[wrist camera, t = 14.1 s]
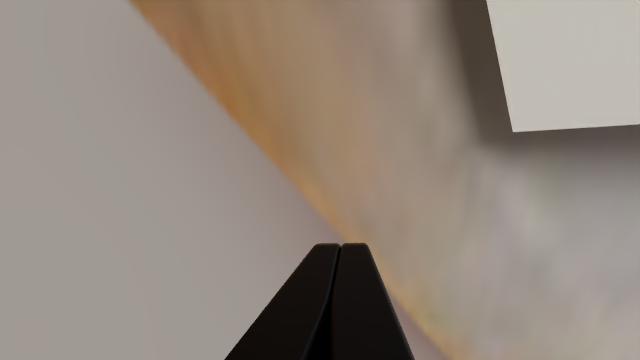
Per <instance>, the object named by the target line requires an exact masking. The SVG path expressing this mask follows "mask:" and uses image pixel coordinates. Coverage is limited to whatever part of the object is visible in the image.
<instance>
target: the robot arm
mask: <svg viewBox="0 0 640 360" xmlns="http://www.w3.org/2000/svg"><path fill="white" fill-rule="evenodd" d="M225 360H415V359H414V356H413V354H412V352H411V349H410V347H409V344H408V342H407V339H406V337H405V335H404V332H403V330H402V327H401V325H400V322H399V320H398V317H397V315H396V313H395V310H394V308H393V305H392V303H391V300H390V298H389V296H388V293H387V291H386V288H385V286H384V283H383V281H382V278H381V276H380V274H379V271H378V269H377V266H376V264H375V261H374V259H373V257H372V254H371V252H370V249H369V247H368V245H367V244H365V243H344V244H343V245H342V247H341V245H339V244H337V243H327V244H326V243H324V244H323V243H322V244H316V245H315V246H314V247H313V248H312V249H311V250H310V252H309V253H308V254H307V255H306V257H305V258H304V259H303V261H302V262H301V263H300V264H299V266H298V267H297V268H296V270H295V271H294V272H293V273H292V274H291V276H290V277H289V278H288V280H287V281H286V282H285V283H284V285H283V286H282V287H281V288H280V290H279V291H278V292H277V293H276V295H275V296H274V297H273V299H272V300H271V301H270V302H269V304H268V305H267V306H266V307H265V309H264V310H263V311H262V313H261V314H260V315H259V317H258V318H257V319H256V320H255V322H254V323H253V324H252V325H251V326H250V328H249V329H248V331H247V332H246V333H245V334H244V335H243V337H242V338H241V339H240V340H239V342H238V343H237V344H236V345H235V347H234V348H233V349H232V351H231V352H230V353H229V354H228V356H227V357H226V358H225Z"/></svg>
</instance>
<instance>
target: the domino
mask: <svg viewBox="0 0 640 360" xmlns="http://www.w3.org/2000/svg"><path fill="white" fill-rule="evenodd" d="M486 1H487V6H488V11H489V16H490V21H491V26H492V31H493V36H494V41H495V46H496V51H497V56H498V61H499V66H500V71H501V76H502V80H503V85H504V90H505V95H506V100H507V105H508V110H509V115H510V120H511V125H512V130H513V132H524V131H540V130H556V129H572V128H588V127H604V126H620V125H636V124H640V0H486Z"/></svg>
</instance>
